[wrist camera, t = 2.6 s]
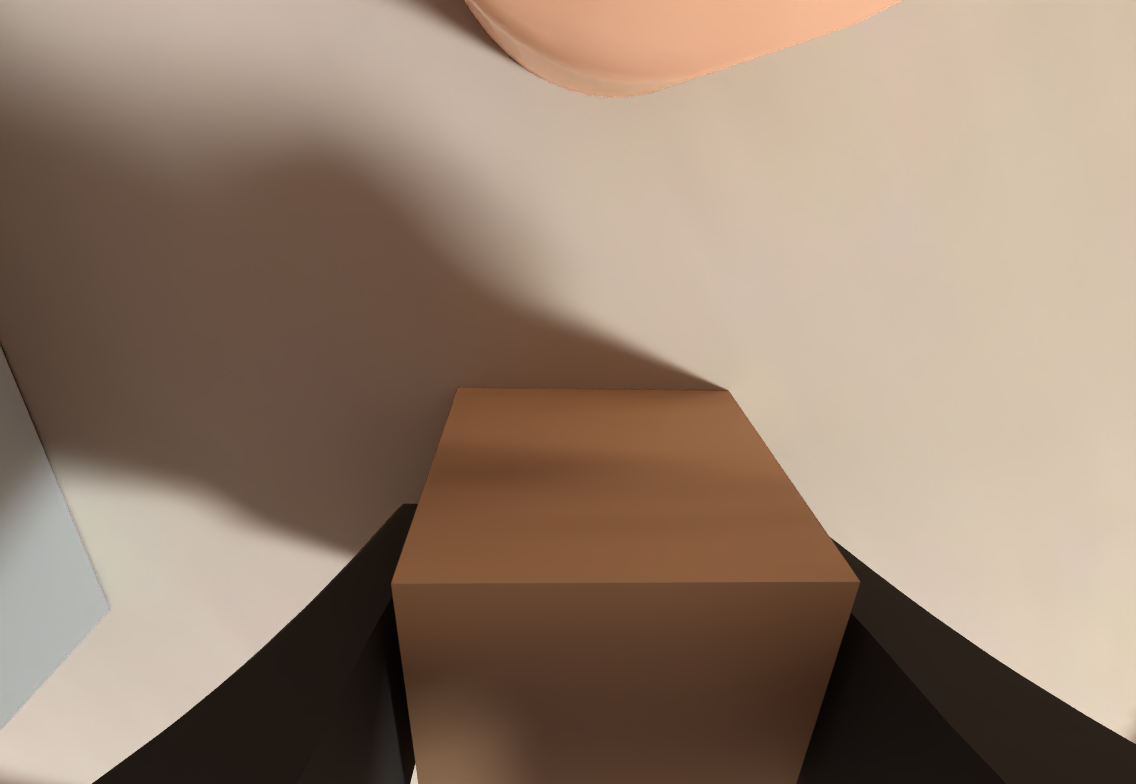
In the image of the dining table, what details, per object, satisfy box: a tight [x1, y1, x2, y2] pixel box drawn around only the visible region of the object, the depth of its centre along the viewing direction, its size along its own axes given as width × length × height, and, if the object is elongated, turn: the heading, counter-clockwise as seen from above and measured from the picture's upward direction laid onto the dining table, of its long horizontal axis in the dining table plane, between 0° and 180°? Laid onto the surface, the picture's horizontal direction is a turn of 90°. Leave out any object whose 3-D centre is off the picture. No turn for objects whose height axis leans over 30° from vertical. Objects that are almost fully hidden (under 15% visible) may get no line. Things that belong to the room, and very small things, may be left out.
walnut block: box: [391, 388, 860, 784], centre depth 9 cm, size 5×5×5 cm
